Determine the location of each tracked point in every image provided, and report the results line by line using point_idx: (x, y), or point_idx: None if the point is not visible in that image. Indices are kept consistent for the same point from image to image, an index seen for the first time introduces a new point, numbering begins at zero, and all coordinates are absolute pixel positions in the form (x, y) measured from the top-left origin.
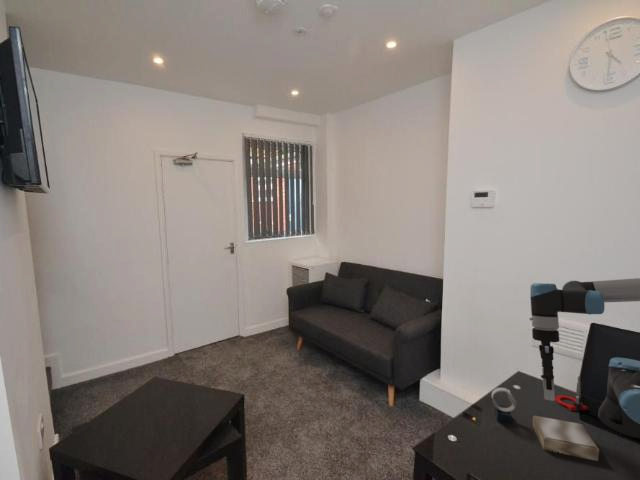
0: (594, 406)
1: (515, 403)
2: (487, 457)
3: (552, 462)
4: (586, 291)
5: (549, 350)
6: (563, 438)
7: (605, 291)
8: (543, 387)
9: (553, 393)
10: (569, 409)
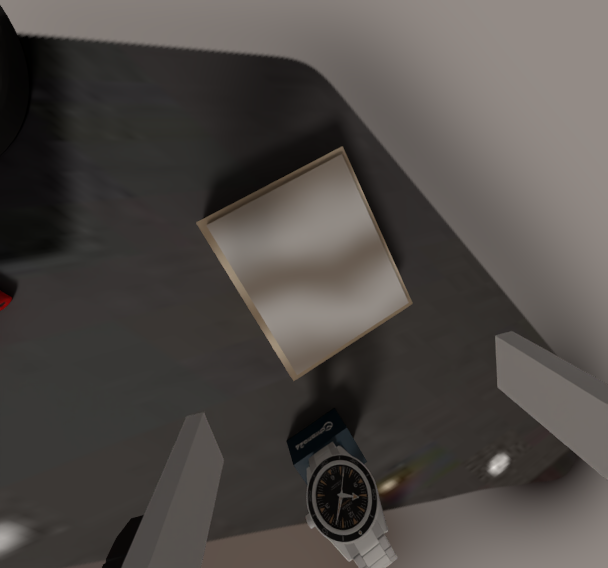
0: None
1: (356, 459)
2: None
3: (426, 262)
4: None
5: None
6: (372, 256)
7: None
8: (221, 459)
9: (563, 365)
10: (7, 303)
